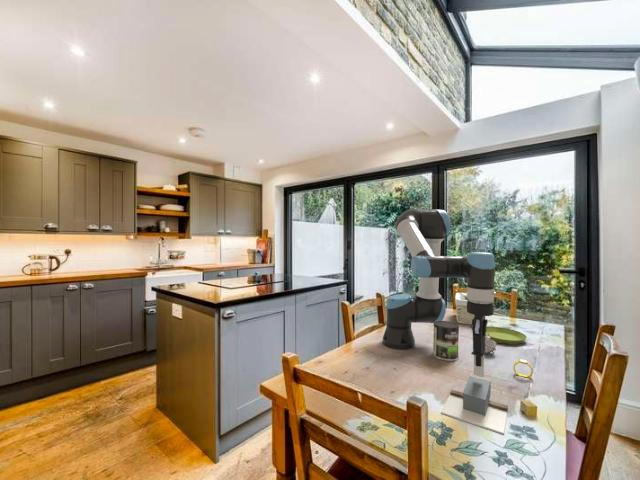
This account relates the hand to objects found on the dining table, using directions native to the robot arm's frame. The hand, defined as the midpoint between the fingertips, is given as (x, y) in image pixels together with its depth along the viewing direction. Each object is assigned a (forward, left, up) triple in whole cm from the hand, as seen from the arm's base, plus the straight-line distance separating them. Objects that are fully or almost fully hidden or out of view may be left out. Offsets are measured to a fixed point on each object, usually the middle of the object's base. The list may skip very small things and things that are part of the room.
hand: (478, 374), depth 96 cm
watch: (+11, +29, -9) cm, 32 cm away
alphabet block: (+13, +2, -9) cm, 16 cm away
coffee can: (-17, +31, -9) cm, 36 cm away
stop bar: (0, -1, -8) cm, 8 cm away
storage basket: (-18, +99, -9) cm, 101 cm away
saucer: (+1, +72, -9) cm, 73 cm away
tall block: (0, +2, -4) cm, 5 cm away
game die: (-3, +46, -9) cm, 47 cm away
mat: (0, -8, -8) cm, 12 cm away
